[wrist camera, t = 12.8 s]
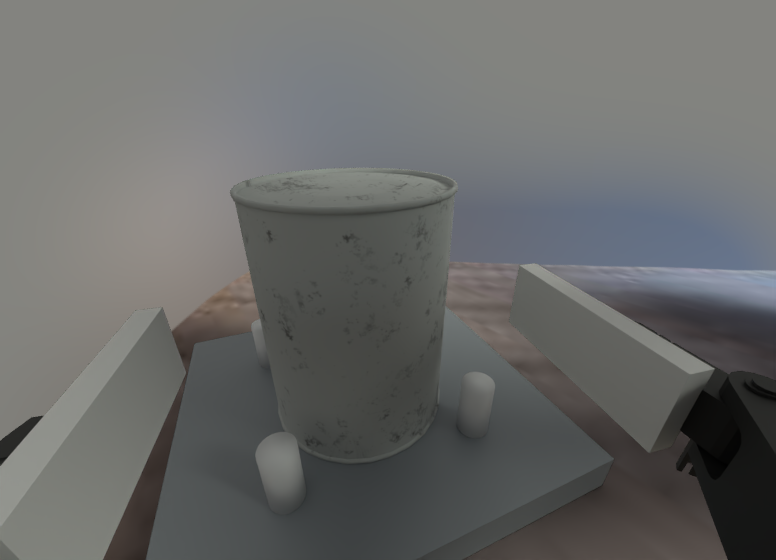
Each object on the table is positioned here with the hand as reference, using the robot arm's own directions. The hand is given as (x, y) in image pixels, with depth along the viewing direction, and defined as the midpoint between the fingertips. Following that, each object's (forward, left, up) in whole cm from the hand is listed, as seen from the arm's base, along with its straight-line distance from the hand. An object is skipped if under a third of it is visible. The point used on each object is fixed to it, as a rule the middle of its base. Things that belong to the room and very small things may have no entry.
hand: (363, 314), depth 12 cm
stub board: (-1, -4, -10) cm, 11 cm away
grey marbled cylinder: (-1, -4, -8) cm, 9 cm away
